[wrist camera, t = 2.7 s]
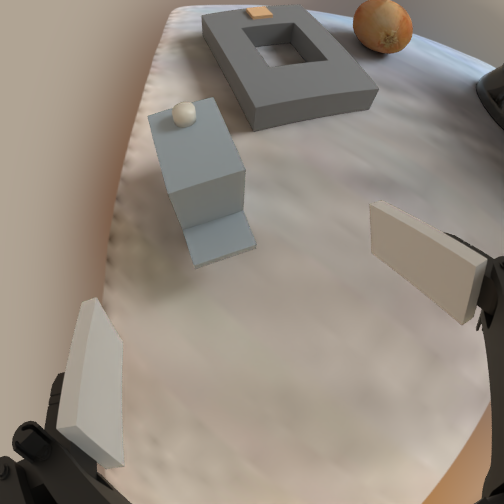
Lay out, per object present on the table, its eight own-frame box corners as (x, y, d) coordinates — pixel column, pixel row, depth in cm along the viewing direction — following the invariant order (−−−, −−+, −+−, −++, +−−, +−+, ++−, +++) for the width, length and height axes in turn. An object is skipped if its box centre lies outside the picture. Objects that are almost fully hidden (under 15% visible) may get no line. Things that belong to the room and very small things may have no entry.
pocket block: (369, 109, 36) (380, 85, 31) (253, 131, 33) (256, 103, 29) (296, 22, 42) (300, 1, 37) (202, 35, 39) (201, 12, 35)
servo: (253, 262, 29) (264, 203, 17) (200, 280, 28) (177, 231, 17) (210, 151, 32) (201, 65, 21) (165, 165, 32) (139, 82, 20)
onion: (358, 60, 39) (376, 11, 30) (339, 28, 42) (352, -17, 33) (409, 69, 40) (432, 26, 30) (387, 36, 43) (404, -4, 33)
